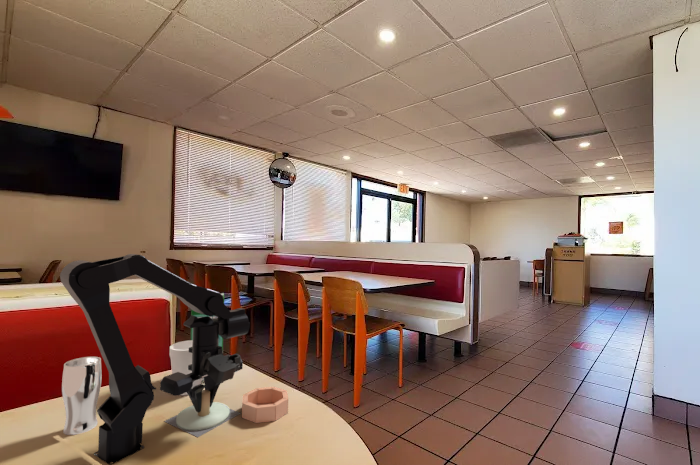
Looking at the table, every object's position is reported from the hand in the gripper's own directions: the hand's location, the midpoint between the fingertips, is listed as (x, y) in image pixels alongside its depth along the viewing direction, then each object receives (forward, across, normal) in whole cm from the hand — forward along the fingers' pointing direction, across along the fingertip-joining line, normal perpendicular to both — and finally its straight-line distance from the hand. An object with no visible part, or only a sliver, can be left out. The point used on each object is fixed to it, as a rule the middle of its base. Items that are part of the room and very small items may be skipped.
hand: (203, 409), depth 82 cm
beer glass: (+3, -17, +19) cm, 26 cm away
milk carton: (+3, +17, +21) cm, 27 cm away
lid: (+2, 0, 0) cm, 2 cm away
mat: (+2, 0, 0) cm, 2 cm away
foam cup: (+3, +7, +16) cm, 18 cm away
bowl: (+2, +10, -10) cm, 14 cm away
